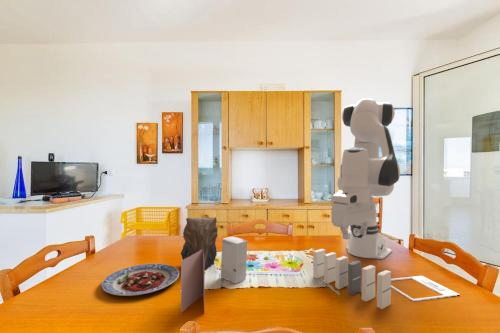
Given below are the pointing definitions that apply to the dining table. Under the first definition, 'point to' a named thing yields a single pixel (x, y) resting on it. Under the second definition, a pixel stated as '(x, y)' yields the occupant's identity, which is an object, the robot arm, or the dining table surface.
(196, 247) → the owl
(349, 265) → the domino
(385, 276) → the domino
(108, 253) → the dining table surface
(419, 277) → the photo frame
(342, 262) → the domino
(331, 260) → the domino
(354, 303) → the dining table surface
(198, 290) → the greeting card
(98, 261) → the dining table surface
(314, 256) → the domino
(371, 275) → the domino
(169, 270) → the ceramic plate
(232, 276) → the skincare box
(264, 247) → the dining table surface
